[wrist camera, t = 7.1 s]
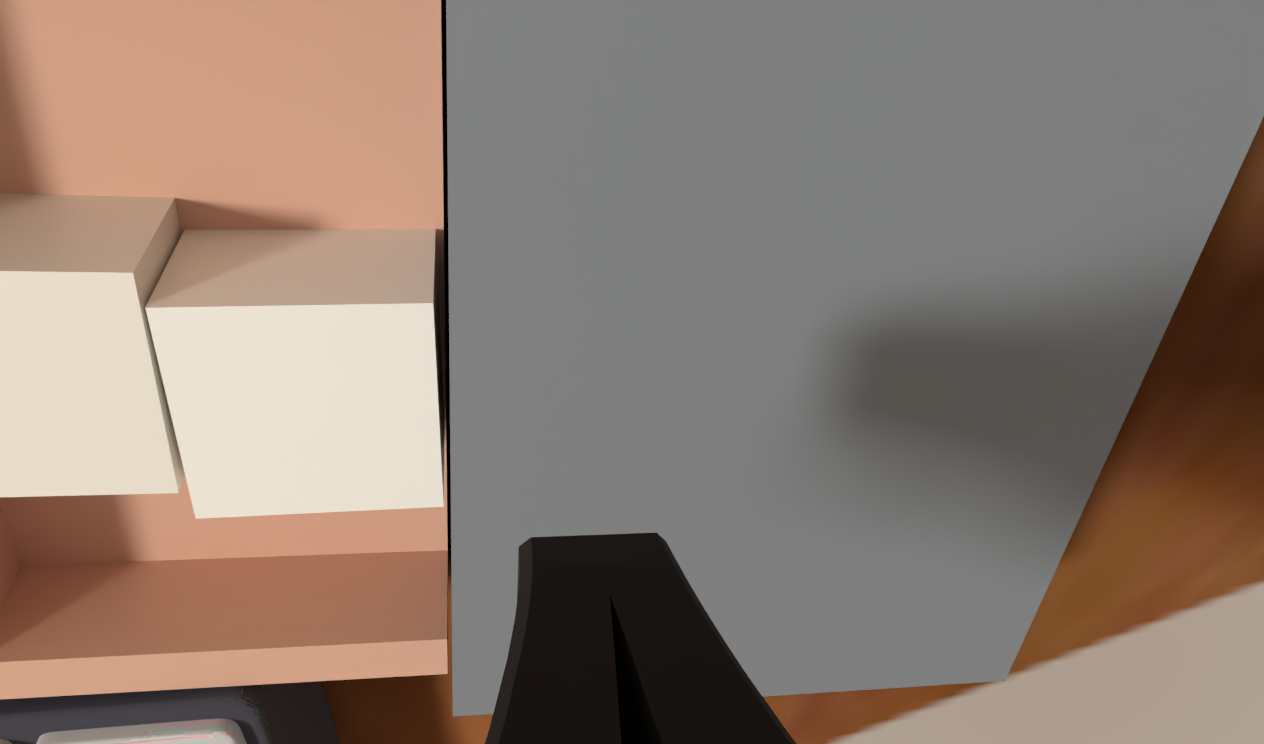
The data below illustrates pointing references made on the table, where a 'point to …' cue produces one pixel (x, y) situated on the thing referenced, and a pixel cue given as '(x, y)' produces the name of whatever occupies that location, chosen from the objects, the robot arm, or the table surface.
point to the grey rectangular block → (818, 301)
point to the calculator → (175, 717)
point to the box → (224, 200)
